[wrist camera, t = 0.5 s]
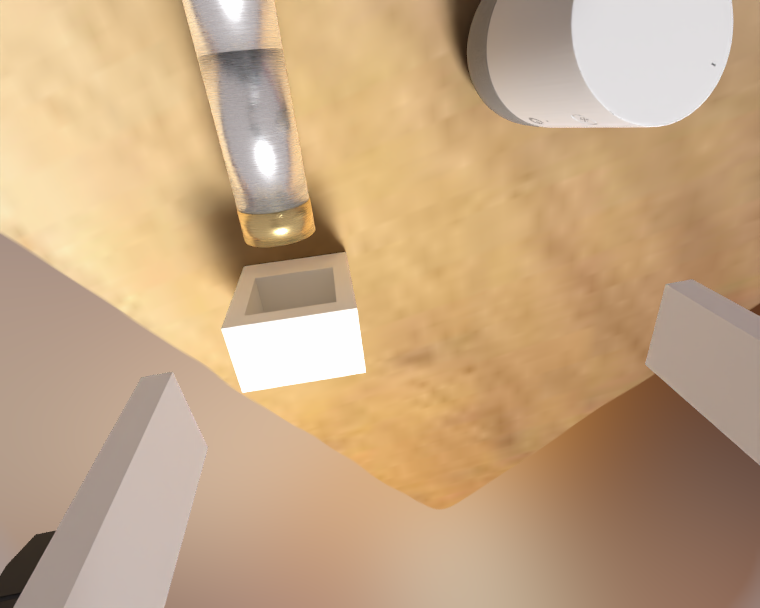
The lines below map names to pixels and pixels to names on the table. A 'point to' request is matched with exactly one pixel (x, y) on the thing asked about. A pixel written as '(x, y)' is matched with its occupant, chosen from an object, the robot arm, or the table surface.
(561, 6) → the smart speaker
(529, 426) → the table surface
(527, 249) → the table surface
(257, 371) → the socket block
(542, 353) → the table surface
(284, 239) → the tube
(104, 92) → the table surface
